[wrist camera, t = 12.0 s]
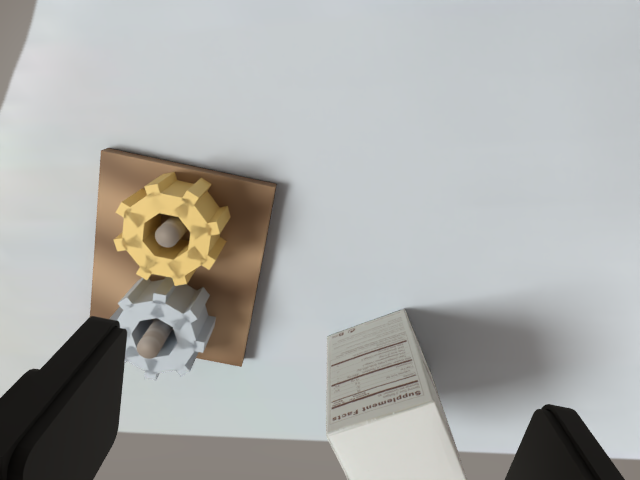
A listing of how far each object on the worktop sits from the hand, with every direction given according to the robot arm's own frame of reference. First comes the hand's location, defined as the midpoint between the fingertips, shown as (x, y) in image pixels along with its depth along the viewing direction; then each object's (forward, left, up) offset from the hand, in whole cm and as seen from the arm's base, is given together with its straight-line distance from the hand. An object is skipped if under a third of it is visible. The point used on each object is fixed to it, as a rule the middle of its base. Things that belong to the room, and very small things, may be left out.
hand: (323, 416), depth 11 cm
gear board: (+10, -10, -28) cm, 32 cm away
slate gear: (+14, -10, -27) cm, 32 cm away
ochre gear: (+6, -10, -27) cm, 30 cm away
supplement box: (+15, +8, -29) cm, 33 cm away
